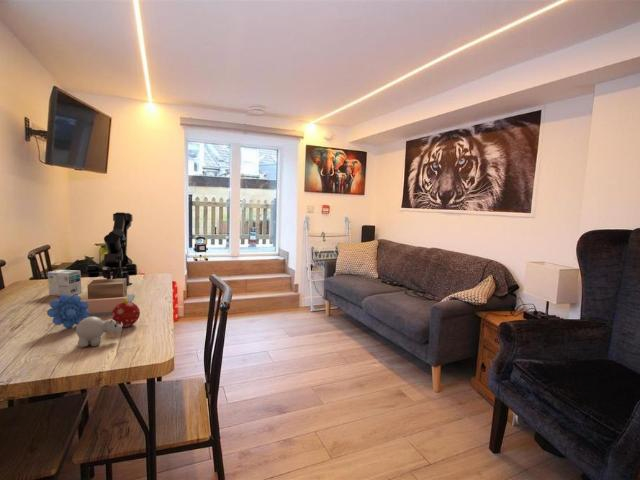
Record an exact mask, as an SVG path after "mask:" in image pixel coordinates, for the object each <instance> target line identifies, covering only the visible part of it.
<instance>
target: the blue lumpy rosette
mask: <svg viewBox="0 0 640 480" xmlns="http://www.w3.org/2000/svg"><path fill="white" fill-rule="evenodd" d="M81 300H82V298H81V296H79V295H78V294H76V295H72V296H68V295H65V294H63V295H61V296H58V299H52V300H51V301H50V302H49V306H50V307H51V308H49V309H48V310H47V312H46V314H47V316H48V317H49V318H52V323H53V324H54V325H56V326H62V325H63V327H64V328H66V329H71V328H73V327H74V326H75V325H76V326H77V325H78V324H79V323H80V322H81V321H82V320H83V319H85V318H87V317H89V315H90V313H89V311H88V310H85V309H87V308H88V303H87V302H85V301H81ZM80 301H81V302H80Z"/></svg>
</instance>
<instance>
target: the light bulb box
mask: <svg viewBox="0 0 640 480" xmlns="http://www.w3.org/2000/svg"><path fill="white" fill-rule="evenodd" d="M81 274H82V273H81V270H71V269H56V270H52V271H48V272H47V281H48V294H49V296H58V297H59V296H61V295H63V294H65V295H68V296H69V297H71V296H73V295H78V294H81V293H82V292H83V291H82V276H81Z"/></svg>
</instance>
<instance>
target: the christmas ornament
mask: <svg viewBox="0 0 640 480" xmlns="http://www.w3.org/2000/svg"><path fill="white" fill-rule="evenodd" d="M140 315H141V310H140V308H139V306H138V305H137V304H135V302H133V301H132V302H128V300H127V298H125V299H124V300H123V302H122V303H120V304H118V305H117V306H116V307H115V308H114V309H113V311H112V315H111V317H112V316H113V320H115V321H116V323H117V324H119V325H120V324H121V322H122V323H123V326H122V328H126V327H130V326H132V325H134V324H135V323H137V322H138V320H139V319H140Z"/></svg>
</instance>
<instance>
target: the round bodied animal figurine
mask: <svg viewBox="0 0 640 480" xmlns="http://www.w3.org/2000/svg"><path fill="white" fill-rule="evenodd" d="M122 326H123V323H122V322H121V324H120V325H119V324H117V323H116V321H115V320H113V316H112V315H111V317H110V318H109V319H107V320H103V319H102V318H100V317H99V316H94V317H87V318H83V320H82V321H81V322H80V323H79V324H78V325H76V327H75V328H76V330H75V332H76V335H77V336H78V341H77V347H78V348H85V347H88V346H89V344H90V346H92V347H97V346H99V345H101V342H102V341H101V340H102V335H104V334H112V333H113V334H116V335H118V334H119V333H121V332H122V330H123V327H122Z"/></svg>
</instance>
